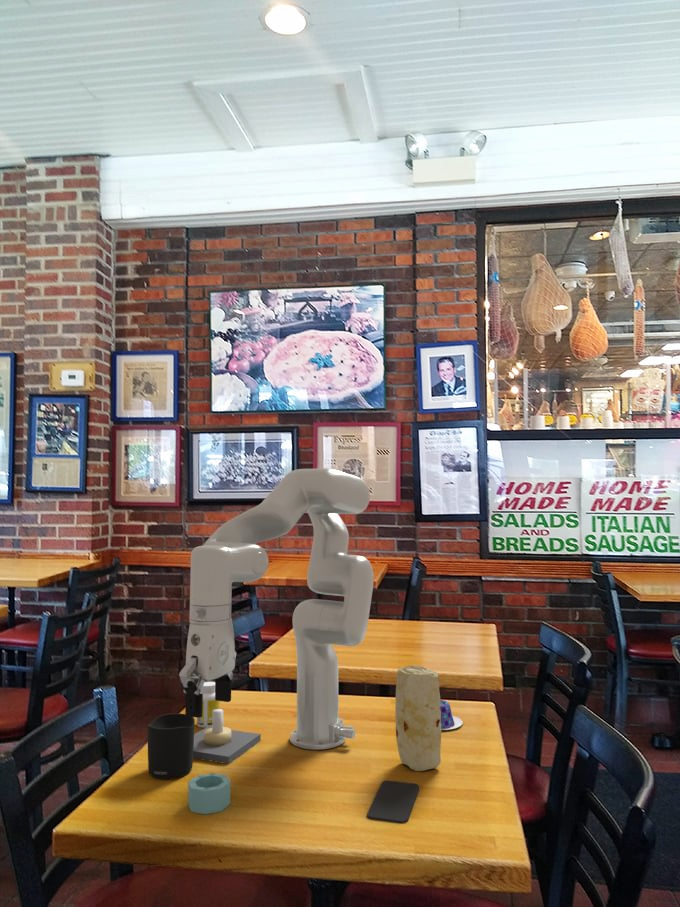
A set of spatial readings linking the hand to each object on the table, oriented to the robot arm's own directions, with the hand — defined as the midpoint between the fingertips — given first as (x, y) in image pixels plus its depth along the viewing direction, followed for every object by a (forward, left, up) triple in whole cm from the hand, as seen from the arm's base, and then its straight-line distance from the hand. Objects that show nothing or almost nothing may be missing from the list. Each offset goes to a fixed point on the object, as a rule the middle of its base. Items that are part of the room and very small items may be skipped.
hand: (208, 708), depth 122 cm
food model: (-31, -30, -17) cm, 47 cm away
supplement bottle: (+23, -36, -17) cm, 46 cm away
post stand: (+13, -24, -17) cm, 32 cm away
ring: (0, 0, -17) cm, 17 cm away
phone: (-31, -13, -18) cm, 38 cm away
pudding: (-29, -57, -18) cm, 67 cm away
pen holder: (+15, -10, -17) cm, 25 cm away
